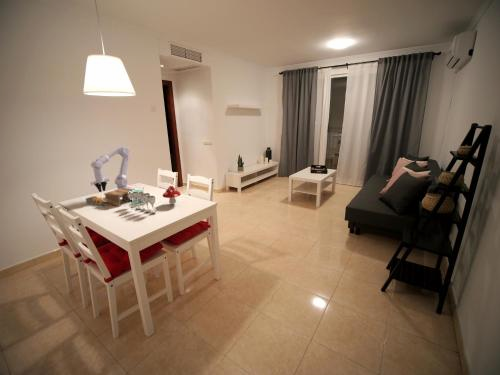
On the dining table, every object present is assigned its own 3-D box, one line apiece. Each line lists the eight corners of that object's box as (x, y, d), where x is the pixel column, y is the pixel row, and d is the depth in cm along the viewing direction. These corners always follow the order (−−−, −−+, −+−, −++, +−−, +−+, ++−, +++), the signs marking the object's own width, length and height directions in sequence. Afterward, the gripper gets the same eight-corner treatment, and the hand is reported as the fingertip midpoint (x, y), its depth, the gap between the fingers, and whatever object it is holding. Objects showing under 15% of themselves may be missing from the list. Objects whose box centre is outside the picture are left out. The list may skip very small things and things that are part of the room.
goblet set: (158, 211, 168) (156, 194, 165) (152, 213, 163) (149, 196, 160) (134, 205, 181) (132, 189, 178) (127, 207, 176) (125, 191, 173)
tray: (94, 201, 193) (93, 195, 192) (109, 203, 187) (108, 197, 185) (86, 203, 188) (85, 197, 186) (101, 206, 181) (100, 199, 180)
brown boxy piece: (124, 198, 199) (122, 188, 196) (136, 200, 194) (134, 189, 191) (106, 204, 184) (104, 193, 181) (118, 206, 178) (116, 195, 176)
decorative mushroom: (184, 203, 182) (182, 186, 178) (167, 208, 174) (165, 189, 170) (177, 199, 193) (175, 182, 189) (161, 203, 185) (159, 185, 181)
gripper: (104, 173, 194) (107, 188, 197) (86, 177, 181) (90, 193, 184) (109, 173, 191) (112, 189, 195) (92, 177, 178) (96, 194, 182)
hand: (102, 191), depth 189 cm, fingers open, 3 cm apart
